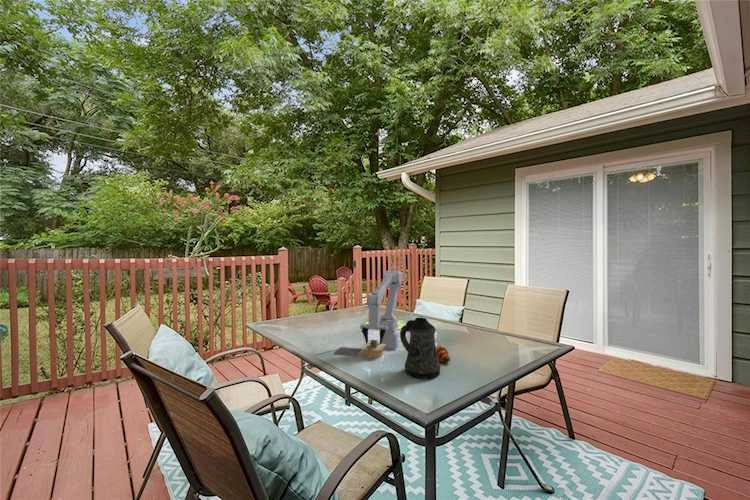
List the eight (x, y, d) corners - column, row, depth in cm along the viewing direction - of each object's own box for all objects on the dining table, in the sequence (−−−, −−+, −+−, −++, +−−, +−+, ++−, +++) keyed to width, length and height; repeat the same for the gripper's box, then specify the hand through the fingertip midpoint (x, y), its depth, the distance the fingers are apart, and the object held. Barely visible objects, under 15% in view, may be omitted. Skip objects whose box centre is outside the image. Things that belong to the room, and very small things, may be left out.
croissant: (423, 358, 188) (417, 346, 186) (437, 348, 191) (431, 336, 190) (444, 371, 168) (437, 358, 167) (459, 359, 171) (453, 346, 170)
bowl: (383, 354, 184) (383, 345, 184) (379, 359, 175) (380, 350, 175) (367, 352, 186) (367, 344, 186) (363, 357, 177) (363, 349, 177)
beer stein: (440, 381, 149) (440, 324, 148) (395, 377, 153) (396, 321, 152) (440, 367, 165) (441, 316, 164) (400, 364, 169) (401, 314, 168)
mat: (362, 349, 191) (362, 348, 191) (355, 357, 178) (355, 356, 178) (340, 347, 194) (340, 346, 194) (332, 355, 182) (332, 354, 182)
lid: (386, 345, 185) (386, 338, 185) (381, 351, 174) (381, 344, 174) (366, 343, 187) (366, 337, 187) (360, 349, 177) (360, 342, 177)
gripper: (358, 318, 178) (358, 344, 178) (385, 320, 174) (385, 346, 175) (362, 315, 185) (362, 340, 185) (388, 317, 181) (388, 342, 182)
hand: (373, 343), depth 180 cm, fingers open, 7 cm apart
